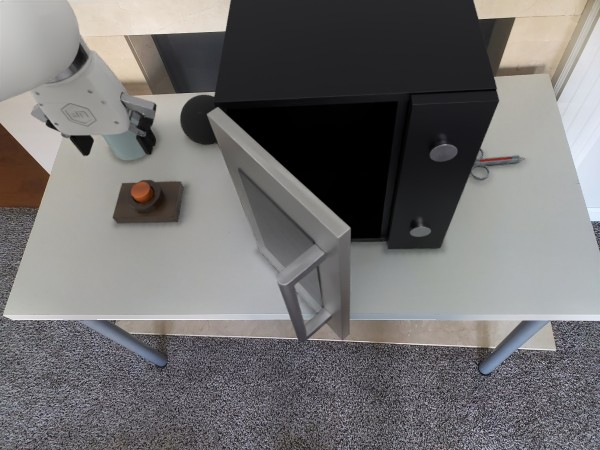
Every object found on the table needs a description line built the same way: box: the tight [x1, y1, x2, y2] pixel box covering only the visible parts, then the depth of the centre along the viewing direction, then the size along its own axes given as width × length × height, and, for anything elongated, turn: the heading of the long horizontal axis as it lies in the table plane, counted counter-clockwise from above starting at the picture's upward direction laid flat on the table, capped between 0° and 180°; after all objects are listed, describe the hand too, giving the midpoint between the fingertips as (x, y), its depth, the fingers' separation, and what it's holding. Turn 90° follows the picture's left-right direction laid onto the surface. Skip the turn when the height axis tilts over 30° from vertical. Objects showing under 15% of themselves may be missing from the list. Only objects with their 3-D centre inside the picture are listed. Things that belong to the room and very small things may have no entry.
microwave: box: [213, 0, 500, 250], centre depth 70 cm, size 30×31×35 cm
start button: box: [131, 181, 153, 203], centre depth 83 cm, size 4×4×2 cm
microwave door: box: [207, 107, 352, 343], centre depth 59 cm, size 7×22×35 cm, turn 40°
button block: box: [112, 179, 185, 224], centre depth 85 cm, size 8×12×4 cm, turn 88°
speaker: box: [179, 94, 218, 146], centre depth 90 cm, size 10×10×10 cm
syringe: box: [470, 148, 528, 181], centre depth 84 cm, size 8×18×2 cm, turn 92°
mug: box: [101, 94, 156, 161], centre depth 92 cm, size 14×9×10 cm
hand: (120, 147), depth 66 cm, fingers open, 9 cm apart
